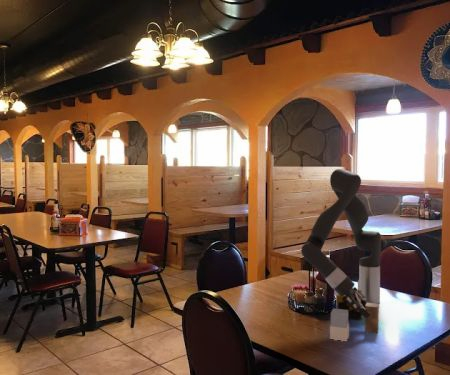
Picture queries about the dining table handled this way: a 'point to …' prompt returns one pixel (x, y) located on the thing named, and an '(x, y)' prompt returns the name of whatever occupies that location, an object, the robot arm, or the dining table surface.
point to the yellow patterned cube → (348, 307)
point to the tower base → (339, 333)
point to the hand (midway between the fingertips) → (369, 313)
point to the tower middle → (339, 318)
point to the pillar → (372, 317)
